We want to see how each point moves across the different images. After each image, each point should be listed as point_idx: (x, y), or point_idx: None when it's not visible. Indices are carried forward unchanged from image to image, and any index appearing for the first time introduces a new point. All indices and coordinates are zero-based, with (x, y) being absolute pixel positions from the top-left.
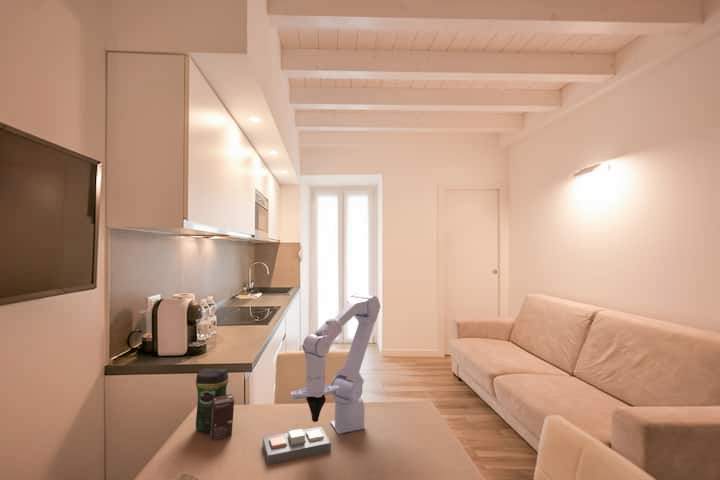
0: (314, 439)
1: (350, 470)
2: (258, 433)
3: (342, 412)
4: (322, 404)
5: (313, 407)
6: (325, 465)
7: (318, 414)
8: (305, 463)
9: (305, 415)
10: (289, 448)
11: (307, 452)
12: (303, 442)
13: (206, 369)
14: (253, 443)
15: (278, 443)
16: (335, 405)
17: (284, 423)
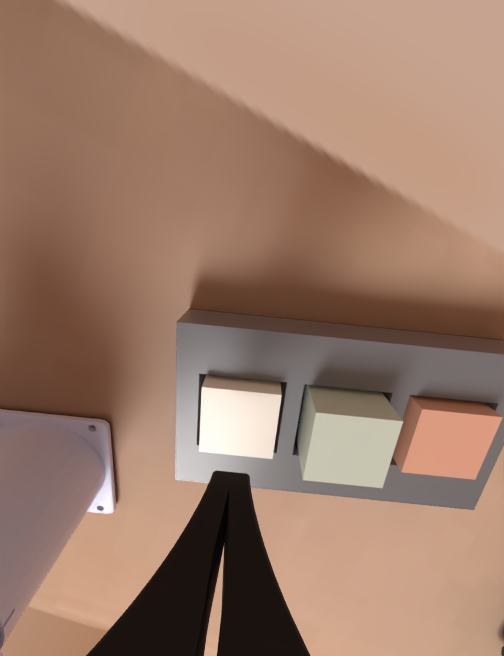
0: (253, 386)
1: (146, 85)
2: (421, 552)
3: (8, 515)
4: (118, 645)
5: (263, 628)
6: (258, 203)
7: (203, 518)
8: (343, 268)
9: None
10: (411, 369)
11: (313, 326)
12: (317, 389)
13: None
14: None
15: (459, 422)
16: (28, 590)
17: (299, 571)
